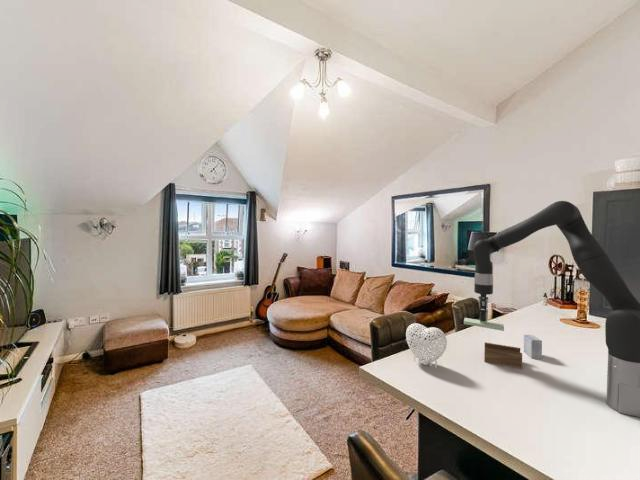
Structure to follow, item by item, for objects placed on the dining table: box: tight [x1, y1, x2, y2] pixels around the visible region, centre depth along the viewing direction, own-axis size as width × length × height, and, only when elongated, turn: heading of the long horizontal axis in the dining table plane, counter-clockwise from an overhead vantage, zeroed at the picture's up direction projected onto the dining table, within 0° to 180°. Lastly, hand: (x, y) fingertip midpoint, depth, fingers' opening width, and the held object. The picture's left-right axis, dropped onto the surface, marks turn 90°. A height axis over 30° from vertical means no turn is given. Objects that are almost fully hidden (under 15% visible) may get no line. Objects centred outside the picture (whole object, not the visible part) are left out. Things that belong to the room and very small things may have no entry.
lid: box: [463, 308, 505, 332], centre depth 138 cm, size 6×16×7 cm, turn 62°
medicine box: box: [523, 334, 543, 360], centre depth 142 cm, size 8×4×9 cm, turn 168°
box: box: [483, 341, 523, 370], centre depth 135 cm, size 9×14×6 cm, turn 61°
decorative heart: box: [405, 322, 448, 369], centre depth 131 cm, size 18×11×17 cm, turn 45°
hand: (482, 320), depth 138 cm, fingers closed on lid, 2 cm apart
